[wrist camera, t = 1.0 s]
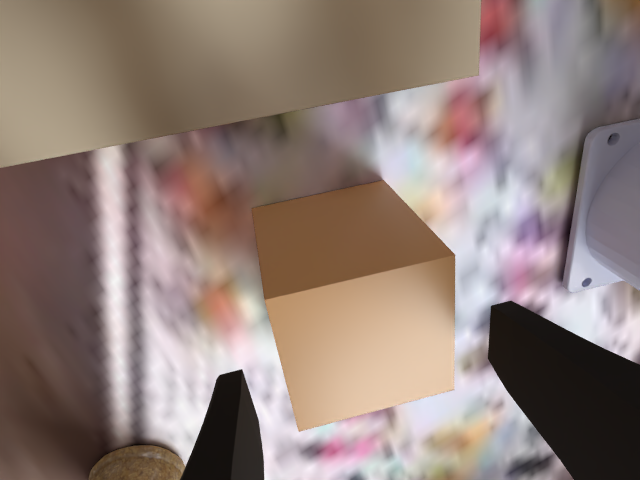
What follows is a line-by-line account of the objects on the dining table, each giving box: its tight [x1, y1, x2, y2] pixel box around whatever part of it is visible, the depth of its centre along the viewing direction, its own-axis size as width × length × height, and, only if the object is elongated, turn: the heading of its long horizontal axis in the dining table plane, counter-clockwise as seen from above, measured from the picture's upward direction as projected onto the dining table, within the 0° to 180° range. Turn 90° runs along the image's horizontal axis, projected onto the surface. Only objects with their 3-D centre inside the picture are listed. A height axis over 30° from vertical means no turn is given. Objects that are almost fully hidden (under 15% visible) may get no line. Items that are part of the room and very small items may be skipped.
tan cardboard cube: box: [252, 180, 455, 432], centre depth 15 cm, size 5×5×6 cm
